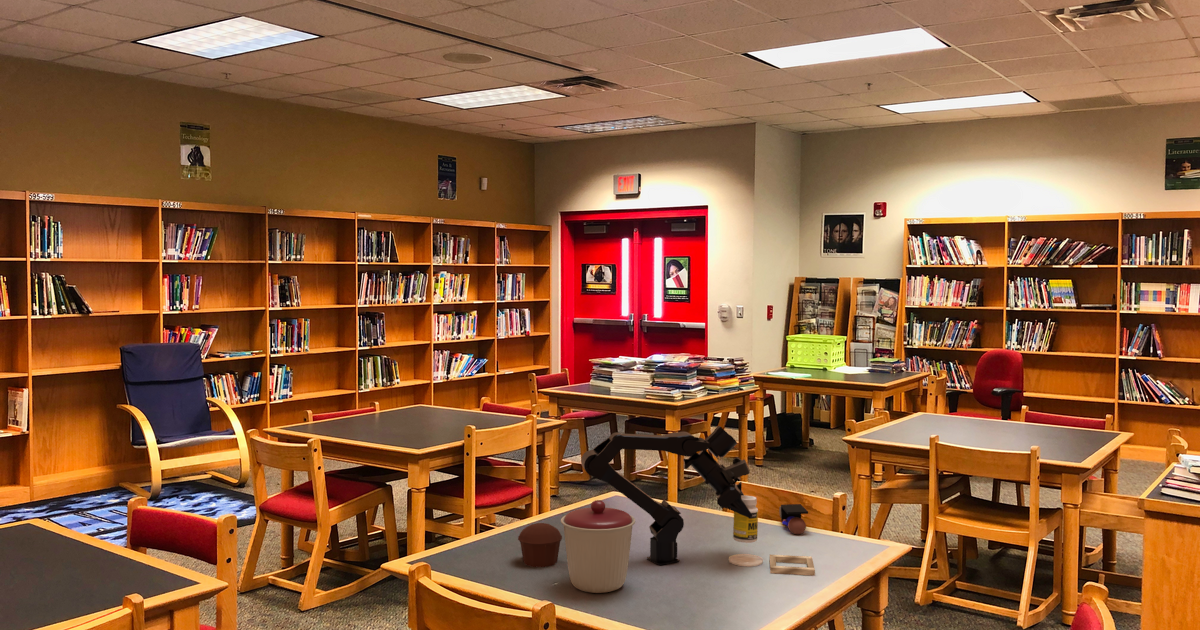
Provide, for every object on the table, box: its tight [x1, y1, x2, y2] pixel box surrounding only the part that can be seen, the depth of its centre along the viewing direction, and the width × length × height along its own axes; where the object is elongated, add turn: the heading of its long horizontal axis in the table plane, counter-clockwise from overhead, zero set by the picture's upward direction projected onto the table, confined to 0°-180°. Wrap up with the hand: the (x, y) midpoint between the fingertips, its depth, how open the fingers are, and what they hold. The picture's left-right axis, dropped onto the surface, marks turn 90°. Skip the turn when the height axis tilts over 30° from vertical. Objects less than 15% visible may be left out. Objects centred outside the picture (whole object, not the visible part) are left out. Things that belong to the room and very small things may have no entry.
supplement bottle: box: [732, 494, 759, 544], centre depth 240 cm, size 6×6×11 cm
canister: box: [560, 499, 636, 594], centre depth 220 cm, size 18×18×21 cm
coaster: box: [728, 553, 764, 568], centre depth 241 cm, size 9×9×1 cm
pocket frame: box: [769, 554, 816, 577], centre depth 236 cm, size 11×11×2 cm
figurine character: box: [778, 503, 809, 536], centre depth 272 cm, size 7×8×15 cm
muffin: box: [517, 522, 563, 568], centre depth 239 cm, size 12×11×10 cm
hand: (751, 513), depth 240 cm, fingers closed on supplement bottle, 6 cm apart
